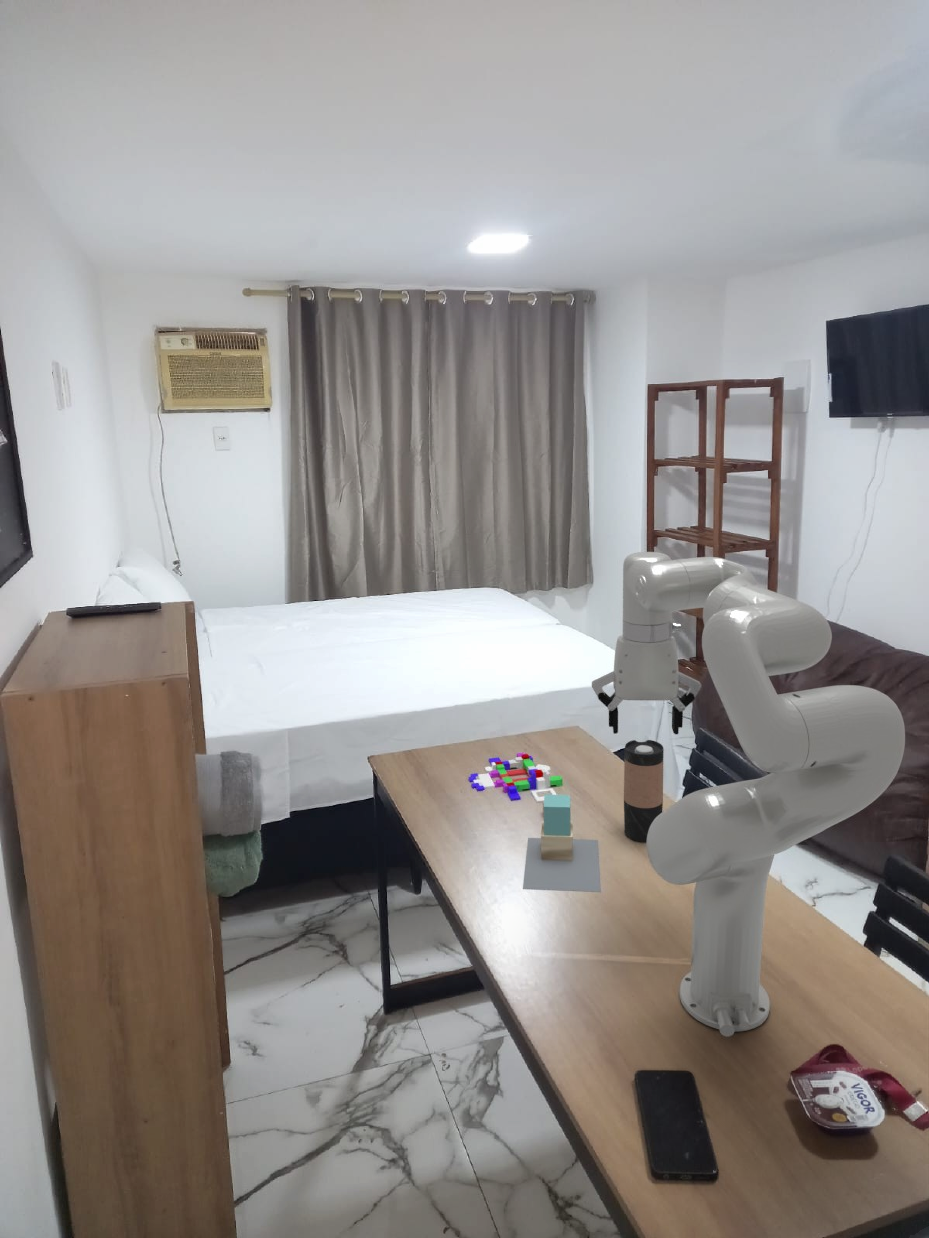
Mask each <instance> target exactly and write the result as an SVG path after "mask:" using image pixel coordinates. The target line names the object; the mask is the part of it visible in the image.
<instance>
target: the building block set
mask: <svg viewBox="0 0 929 1238" xmlns="http://www.w3.org/2000/svg"><path fill="white" fill-rule="evenodd" d="M488 761H489V764H490V765H491V766H485V767H484V771H485V772H486V773H479V774H478V773H477V772H476V773H475V772H474V773H470V776H469V777H468V778H467V779H468V781H470V782H469V783H471V785H470V786H471V788H472V789H474V788H475V789H476V791H477V792H483V790H488V789H497V788H502V792H503V793H504V794H507V796H508V797H509V800H510V801H511V802H513V801H521V799H522V798H521V795H520V794H519V792H522V791H523V790H526V789H527V790H529V791H530V793H531V796H532V797H533V799H534V801H535V802H536V804H541V803H542V804H543V800H544V796H545V795H543V796H539V795H542V794H549V793H550V795H558V794H557V793H556V791H555V790H554V788H553V787H551V786H556V787H561V786H564V785H563V784H564V783H563V778H562V776H561V775H556V776H555V775H554V776H551V773H550V772H551V770H552V769H551V767H550V766H549V765H545V764H539V763H538V764H537V765H535V764H534V758H533V756H532V755H529V753H524V752H517V753H516V757H514V759H507V760H504V761H503V760H501V758H500V757H492V758H491V757H489V758H488ZM512 768H516V769H512ZM511 769H512V770H511ZM526 775H527V776H528V777H521V778H520V777H519V778H513V779H512V778H510V777H516V776H517V777H518V776H526ZM495 778H496V779H495ZM497 778H499V779H497ZM492 779H495V781H493V780H492Z"/></svg>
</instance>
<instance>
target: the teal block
mask: <svg viewBox="0 0 929 1238" xmlns="http://www.w3.org/2000/svg"><path fill="white" fill-rule="evenodd" d="M543 796H544V814H543V821H544V835H556V836H570V832H571V822H572V820H571V818H572V817H571V795H570V794H557V795H551V794H544V795H543Z"/></svg>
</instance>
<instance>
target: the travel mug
mask: <svg viewBox="0 0 929 1238" xmlns="http://www.w3.org/2000/svg"><path fill="white" fill-rule="evenodd" d="M664 751H665V750H664V746H663V745H662V743H660V742H658V741H657V740H656V741H655V740H653V739H652V740H651V739H647V740H645V741H637V740H636V739H632V740H630V741H627V742H626V743H625V745H624V762H623V764H624V765H623V766H624V767H623V768H624V770H623V773H624V774H623V816H624V817H623V821H624V824H623V825H624V836H625V837H626V838H627V839H629V840H630V841H633V842H636V843H640V844H646V842H647V834H648V831H649V828H650V826H651V824H652V822H653V821H654V819H655V818H656V817H657V816H658V815H659V814H661V813H662V812H663V805H664Z"/></svg>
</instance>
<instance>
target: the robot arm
mask: <svg viewBox="0 0 929 1238" xmlns="http://www.w3.org/2000/svg"><path fill="white" fill-rule="evenodd" d="M622 565H623V568H622V634H620V635H619V636H618V637H617V641H616V643H615V644H616V645H615V650H614V660H613V661H614V662H613V671H611V672H608V673H607V674H604V675H602V676H600V677H598V678H597V679H594V680H592V681H591V688H592V690H593V691H594V693H595V695H596V697H597V700H598V701H600V702H601V703H602V704H603V705H604V706H605V707H606V708H607V710H608V727H609V728H612V733H613V734H618V733H619V708H618V706H619V705H620V704H621V703H622V702H623V701H670V703H672V705H673V706H671V728H672V732H673V734H674V735H679V731H680V730H679V729H680V728H681V729H682V728H683V717H684V714H683V713H684V711H685V710H686V709H687V707H688V706H689V705H690V704H691V703H693V702H694V701H695V699H696V696H697V695H698V693H700V690H701V688H702V684H701V682H700V681H699V680H698V679H695V678H693V677H692V676H689V675H687V674H686V673H685V674H684V673H683V672H681V671H679V661H678V659H679V658H678V651H677V643H676V642H677V641H676V638H675V636H673V635H674V633H677V632H678V633H679V632H681V627H682V626H681V625H682V624H681V623H680V622H676V621H674V620H672V612H677V611H678V612H679V611H685V610H692V609H702V608H703V610H702V621H703V624H704V627H703V630H702V633H701V635H702V636H701V648H702V655H703V658H704V662H705V664H706V667H707V671H708V673H709V676H710V678H711V681H712V682H713V685H714V688H715V690H716V692H717V695H718V696H719V698H720V700H721V703H722V706H723V708H724V710H725V712H726V714H727V717H728V719H729V722H730V725H731V726H732V729H733V731H734V733H735V736H736V738H737V740H738V742H739V745H740V746H741V748H742V750H743V752H744V754H745V755H746V757H747V758H748V759H749V760H750V761H751V762H752V764H753V765H755V766H756V768H759V770H762V771H763V772H767V773H768V774H767V775H764V776H762V777H759V778H755V779H749V780H748V779H747V780H743V781H742V780H741V781H735V782H731V783H727V784H721V785H716V786H711V787H705V788H703V789H699V790H695V791H693V792H691V793H689V794H686V795H684V796H683V797H682V798H680V799H678V800H677V801H676V802H674V803H673V804H672V805H670V806H669V807H668V808H666V809H665V810H664V811H663V810H662V813H661V814H659V815H658V816H657V817H656V818H655V819H654V821H653V822H652V824H651V826H650V828H649V831H648V834H647V842H646V843H645V844H646V854H647V858H648V861H649V863H650V864H651V865H650V866H652V869H653V870H654V871H655V872H656V874H658V876H659V877H660V878H661V879H663V880H664V881H666V882H668V883H669V884H673V885H676V886H684V885H691V884H695V886H694V891H693V904H692V905H693V906H692V907H693V909H692V931H691V932H692V936H691V937H692V938H691V962H690V965H691V966H690V967H691V968H690V971H689V972H688V973H685V975H684V976H683V978H682V979H681V981H680V984H679V999H680V1002H681V1004H682V1006H683V1007H684V1010H685V1011H686V1012H687V1013H689V1015H691V1016H692V1018H694V1019H695V1020H697V1021H699V1022H700V1023H702V1024H704V1025H706V1026H708V1027H711V1028H712V1029H713V1028H714V1029H717V1030H719V1032H720V1034H721V1036H723V1037H727V1038H728V1037H733V1035H734V1034H735V1032H744V1031H745V1032H746V1031H749V1030H753V1029H756V1028H757V1027H759V1026H761V1025H762V1024H764V1022H766V1020H767V1018H768V1017H769V1013H770V1008H771V1001H770V997H769V995H768V993H767V990H766V989H765V988H764V987H763V985H762V984H761V981H760V980H761V964H762V951H763V950H762V949H763V935H764V934H763V931H764V930H763V929H764V918H765V917H764V916H765V903H766V901H765V900H766V892H767V884H768V879H769V874H770V871H771V868H772V865H773V862H774V859H775V855H778V854H781V853H783V852H785V851H787V850H789V849H791V848H793V847H794V846H796V845H798V844H799V843H802V842H803V841H805V840H807V839H809V838H811V837H814V836H816V835H819V833H821V832H824V831H825V830H827V829H828V828H830V827H832V826H835V825H837V824H839V823H840V822H843V821H845V820H847V819H849V818H850V817H852V816H854V815H856V814H857V813H859V812H860V811H862V810H864V809H865V808H867V807H868V806H869V805H870V804H872V803H873V802H874V801H876V800H877V799H878V798H879V797H880V796H881V795H882V794H883V793H884V792H886V790H887V788H888V787H889V786H890V785H891V783H892V782H893V781H894V779H895V777H896V776H897V774H898V771H899V769H900V766H901V764H902V760H903V756H904V752H905V745H906V729H905V728H906V727H905V723H904V718H903V715H902V712H901V710H900V709H899V707H898V705H897V704H896V703H895V702H894V700H893V699H891V697H889V695H887V694H885V693H883V692H881V691H880V690H877V689H875V688H872V687H868V686H862V685H853V684H851V685H850V684H846V685H845V684H842V685H841V684H840V685H838V684H837V685H830V686H823V687H816V688H811V689H804V690H798V691H791V692H786V693H781V694H780V693H779V694H778V693H777V691H776V689H775V687H774V685H773V683H772V681H771V679H770V677H772V676H778V675H779V676H780V675H784V674H785V675H786V674H791V673H797V672H801V671H804V670H807V669H809V668H811V667H814V666H815V665H816V664H818V663H819V662H820V661H822V659H824V657H825V656H826V655H827V654H828V652H829V650H830V648H831V646H832V645H831V644H832V640H833V634H832V629H831V626H830V623H829V622H828V620H827V619H826V617H825V616H824V615H823V614H822V613H821V611H819V610H817V609H816V608H814V607H813V606H811V605H809V604H807V603H806V602H802V601H800V600H798V599H796V598H792V597H790V596H787V595H785V594H781V593H778V592H776V591H773V590H770V589H768V588H765V587H763V586H762V587H761V586H760V585H758V583H757V580H756V578H755V577H754V575H753V574H752V572H751V569H749V568H748V567H746V566H745V565H742V564H740V563H738V562H735V561H731V560H728V559H725V558H723V557H716V556H700V557H690V558H678V559H671V557H670V556H669V555H667V554H665V553H663V552H658V551H657V552H656V551H640V552H633V553H631V554H629V555H627V556H626V557H625V558H624V560H623V564H622ZM612 683H613V689H614V692H613V693H612V694H611V695H608V694H607V693H606V692H605V691H604V688H603V687H605V686H607V685H609V684H612ZM680 683H681V684H683V685H685V686H687V687H689V688H688V690H687V691H686V692H685V693H684V694H683V695H682V696H681V697H680V695H679V687H680V685H679V684H680Z"/></svg>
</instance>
